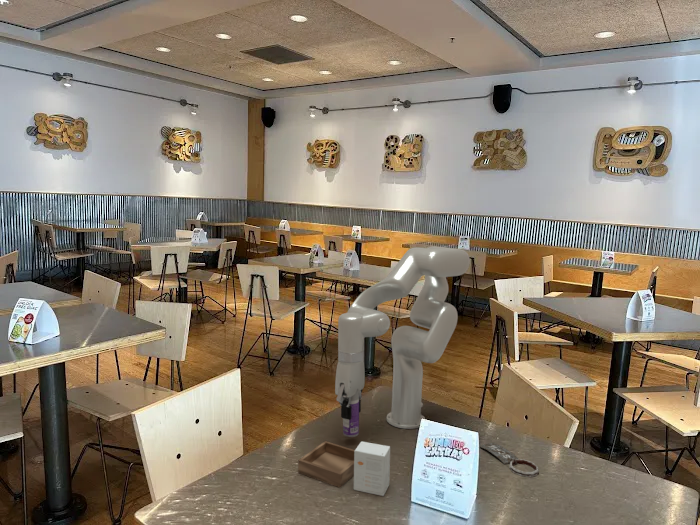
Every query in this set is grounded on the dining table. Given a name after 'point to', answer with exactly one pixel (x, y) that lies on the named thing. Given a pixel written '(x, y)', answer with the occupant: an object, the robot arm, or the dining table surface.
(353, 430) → the container
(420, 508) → the dining table surface
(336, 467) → the tray
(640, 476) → the dining table surface
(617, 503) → the dining table surface
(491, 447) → the keychain
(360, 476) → the small box
